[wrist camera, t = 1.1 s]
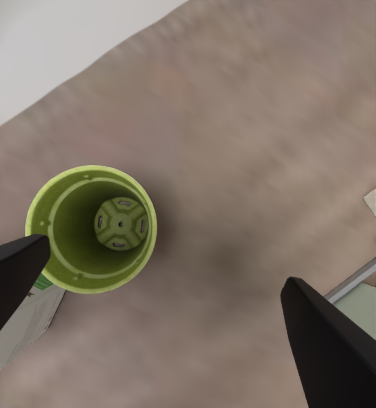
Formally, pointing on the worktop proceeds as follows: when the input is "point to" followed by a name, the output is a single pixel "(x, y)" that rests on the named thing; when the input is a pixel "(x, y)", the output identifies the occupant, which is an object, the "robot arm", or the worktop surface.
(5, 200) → the worktop surface
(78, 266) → the plant pot
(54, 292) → the skincare box
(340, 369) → the robot arm
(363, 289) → the door
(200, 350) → the worktop surface
